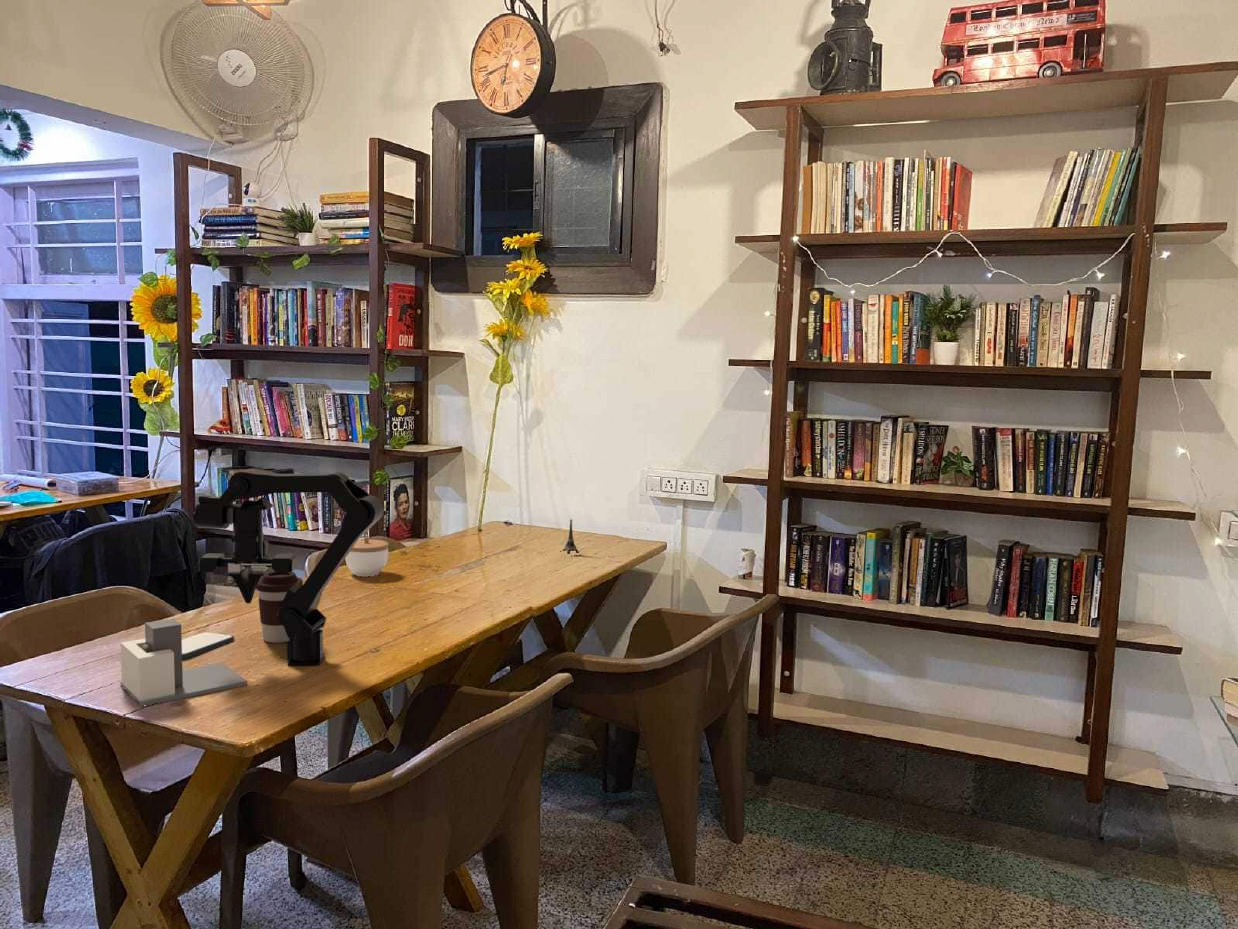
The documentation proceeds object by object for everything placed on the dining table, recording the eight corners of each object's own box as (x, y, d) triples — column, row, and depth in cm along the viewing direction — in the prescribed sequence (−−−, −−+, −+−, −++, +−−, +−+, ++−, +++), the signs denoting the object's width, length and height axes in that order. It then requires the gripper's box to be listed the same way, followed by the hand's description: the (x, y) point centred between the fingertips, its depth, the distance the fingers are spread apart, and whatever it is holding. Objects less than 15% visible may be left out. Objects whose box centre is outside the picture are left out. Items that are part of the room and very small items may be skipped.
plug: (174, 678, 184) (172, 618, 182) (182, 685, 180) (181, 624, 179) (141, 685, 180) (139, 623, 178) (148, 692, 176) (147, 629, 175)
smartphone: (204, 638, 215) (150, 657, 200) (204, 631, 215) (150, 649, 200) (237, 642, 212) (184, 662, 197) (237, 635, 212) (183, 654, 197)
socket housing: (221, 666, 194) (220, 624, 193) (247, 685, 184) (246, 641, 183) (120, 685, 181) (119, 641, 180) (141, 707, 171) (140, 660, 170)
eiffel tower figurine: (597, 554, 316) (598, 515, 315) (588, 560, 306) (589, 520, 305) (554, 551, 320) (555, 512, 318) (544, 557, 310) (545, 517, 309)
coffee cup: (311, 634, 217) (311, 570, 216) (288, 647, 208) (287, 580, 206) (272, 631, 219) (271, 567, 218) (247, 643, 210) (246, 577, 208)
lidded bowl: (392, 569, 284) (392, 533, 283) (383, 579, 272) (383, 541, 271) (350, 568, 284) (350, 532, 283) (339, 578, 271) (339, 540, 270)
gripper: (302, 523, 205) (302, 593, 207) (212, 522, 203) (213, 593, 205) (291, 533, 194) (291, 607, 196) (196, 532, 192) (197, 607, 194)
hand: (248, 603), depth 198 cm, fingers closed
